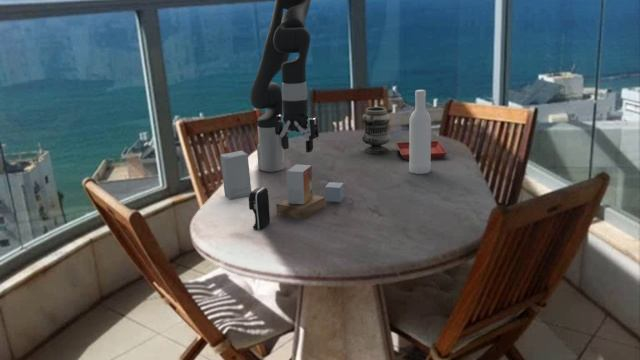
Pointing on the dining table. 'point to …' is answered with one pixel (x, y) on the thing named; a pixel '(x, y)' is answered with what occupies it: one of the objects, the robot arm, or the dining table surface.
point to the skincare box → (235, 174)
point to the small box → (299, 184)
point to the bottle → (420, 136)
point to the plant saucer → (436, 150)
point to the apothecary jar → (376, 129)
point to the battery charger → (260, 207)
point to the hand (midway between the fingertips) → (297, 150)
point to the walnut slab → (301, 207)
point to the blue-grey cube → (334, 192)
